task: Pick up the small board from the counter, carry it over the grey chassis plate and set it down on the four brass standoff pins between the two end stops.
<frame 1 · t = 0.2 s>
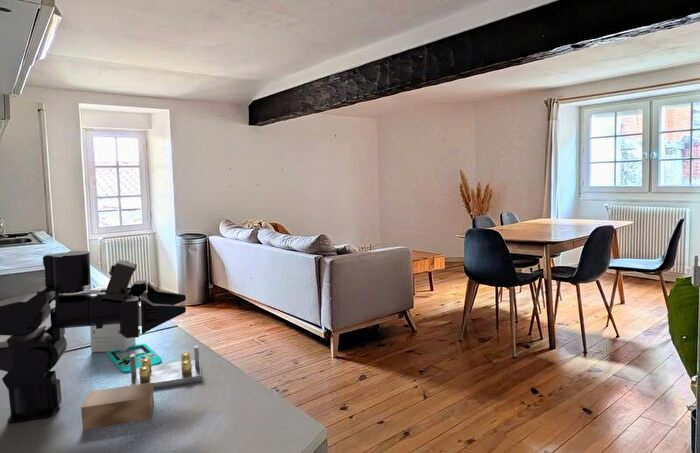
hand: (185, 303, 86), 16 cm above the worktop, tool horizontal, fingers open, 9 cm apart
board: (120, 416, 78), on the worktop
skincare box: (115, 348, 109), on the worktop
chassis: (166, 377, 92), on the worktop
handheld gaming console: (135, 360, 103), on the worktop
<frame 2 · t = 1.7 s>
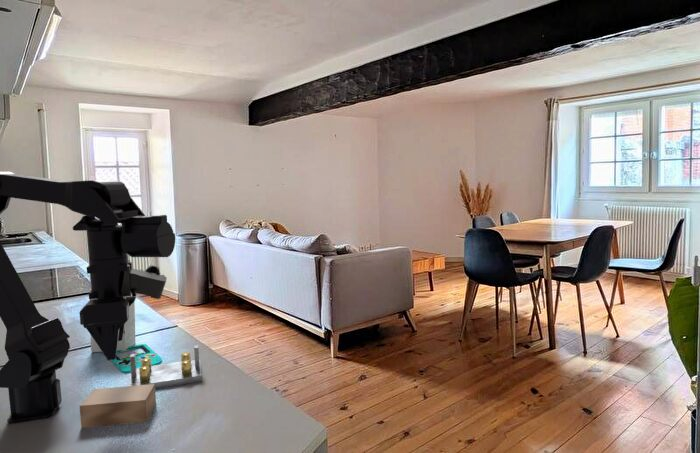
hand: (115, 349, 76), 11 cm above the worktop, tool pointing down, fingers open, 9 cm apart
nothing on the worktop moved.
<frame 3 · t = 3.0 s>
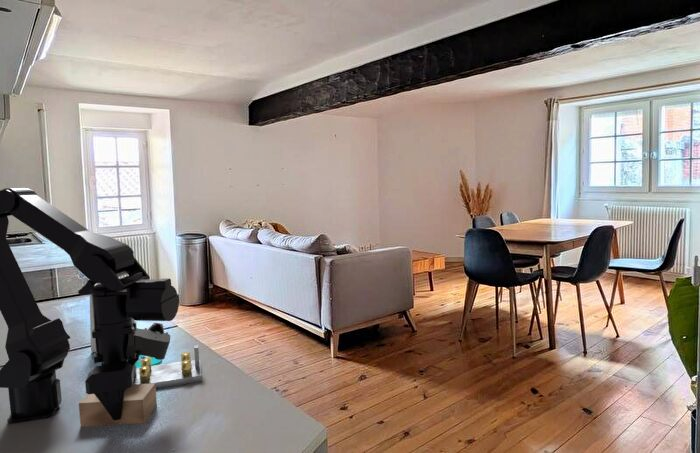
hand: (120, 409, 77), 1 cm above the worktop, tool pointing down, fingers closed on board, 7 cm apart
board: (120, 415, 78), on the worktop, touching gripper
everything else where it was.
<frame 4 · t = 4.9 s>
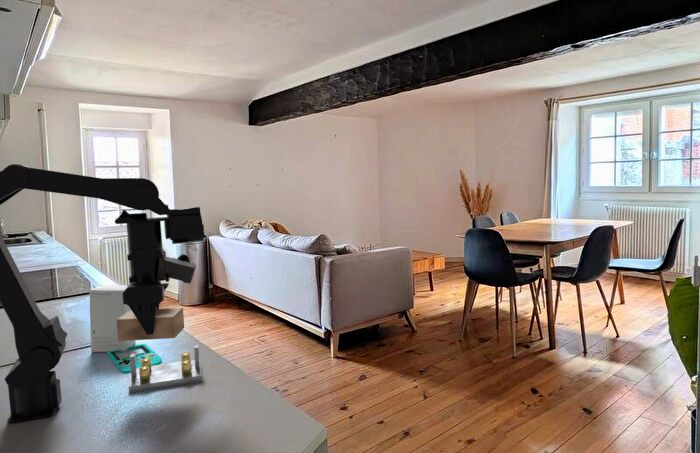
hand: (152, 328, 86), 12 cm above the worktop, tool pointing down, fingers closed on board, 7 cm apart
board: (152, 334, 86), point 11 cm above the worktop, touching gripper
everything else where it was.
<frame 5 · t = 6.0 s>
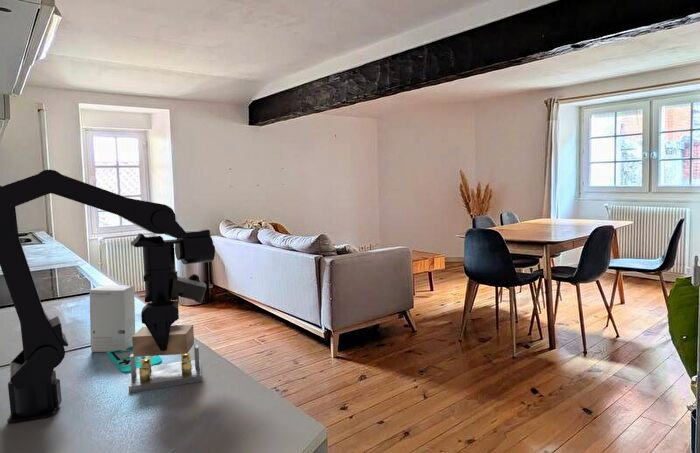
hand: (164, 344, 91), 7 cm above the worktop, tool pointing down, fingers closed on board, 7 cm apart
board: (164, 349, 91), point 6 cm above the worktop, touching gripper
everything else where it was.
when the fingers open (6 cm above the worktop, at t = 6.7 s): board drops 1 cm, resting on chassis.
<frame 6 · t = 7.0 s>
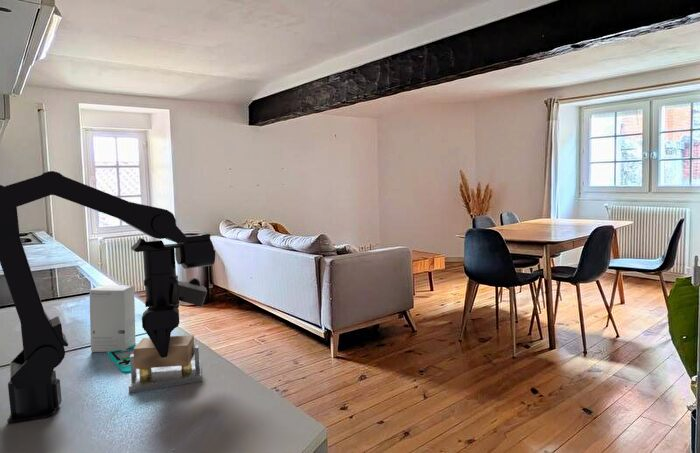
hand: (164, 348, 91), 6 cm above the worktop, tool pointing down, fingers open, 9 cm apart
board: (165, 361, 92), point 3 cm above the worktop, touching chassis
everything else where it was.
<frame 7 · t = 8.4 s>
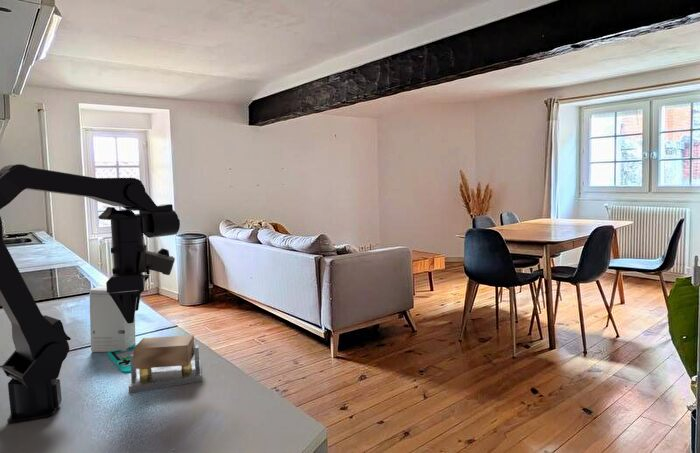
hand: (133, 316, 93), 12 cm above the worktop, tool pointing down, fingers open, 9 cm apart
nothing on the worktop moved.
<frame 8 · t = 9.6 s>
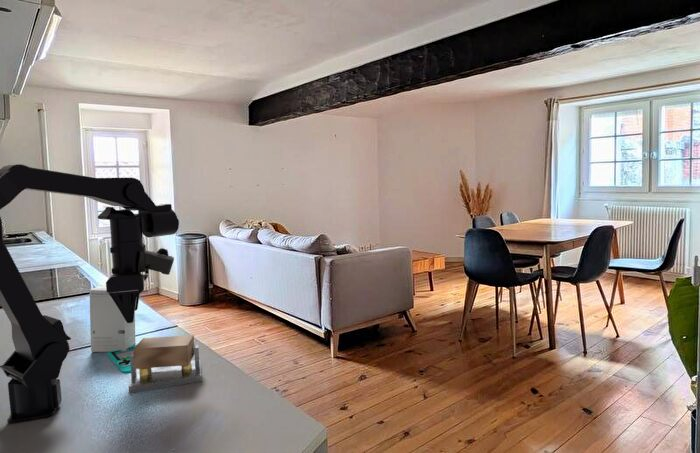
hand: (132, 316, 93), 12 cm above the worktop, tool pointing down, fingers open, 9 cm apart
nothing on the worktop moved.
at the end: board 0.1 cm off-centre on the chassis, point 3.5 cm above the chassis's base; board tilted 0°; the gripper is holding nothing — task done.
